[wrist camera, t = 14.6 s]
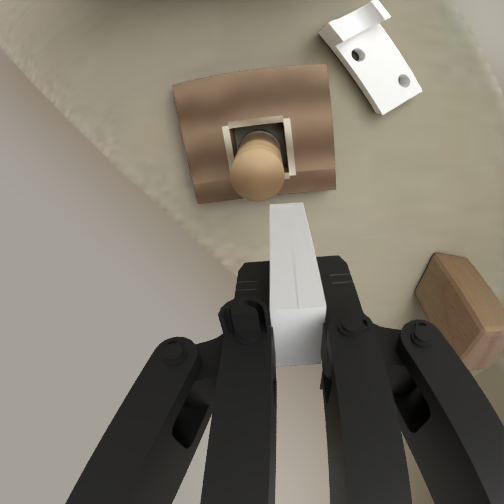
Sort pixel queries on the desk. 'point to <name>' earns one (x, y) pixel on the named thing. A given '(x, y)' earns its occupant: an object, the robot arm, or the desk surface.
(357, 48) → the bracket
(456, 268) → the wooden block
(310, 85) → the seat board
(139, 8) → the desk surface
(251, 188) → the oak peg
